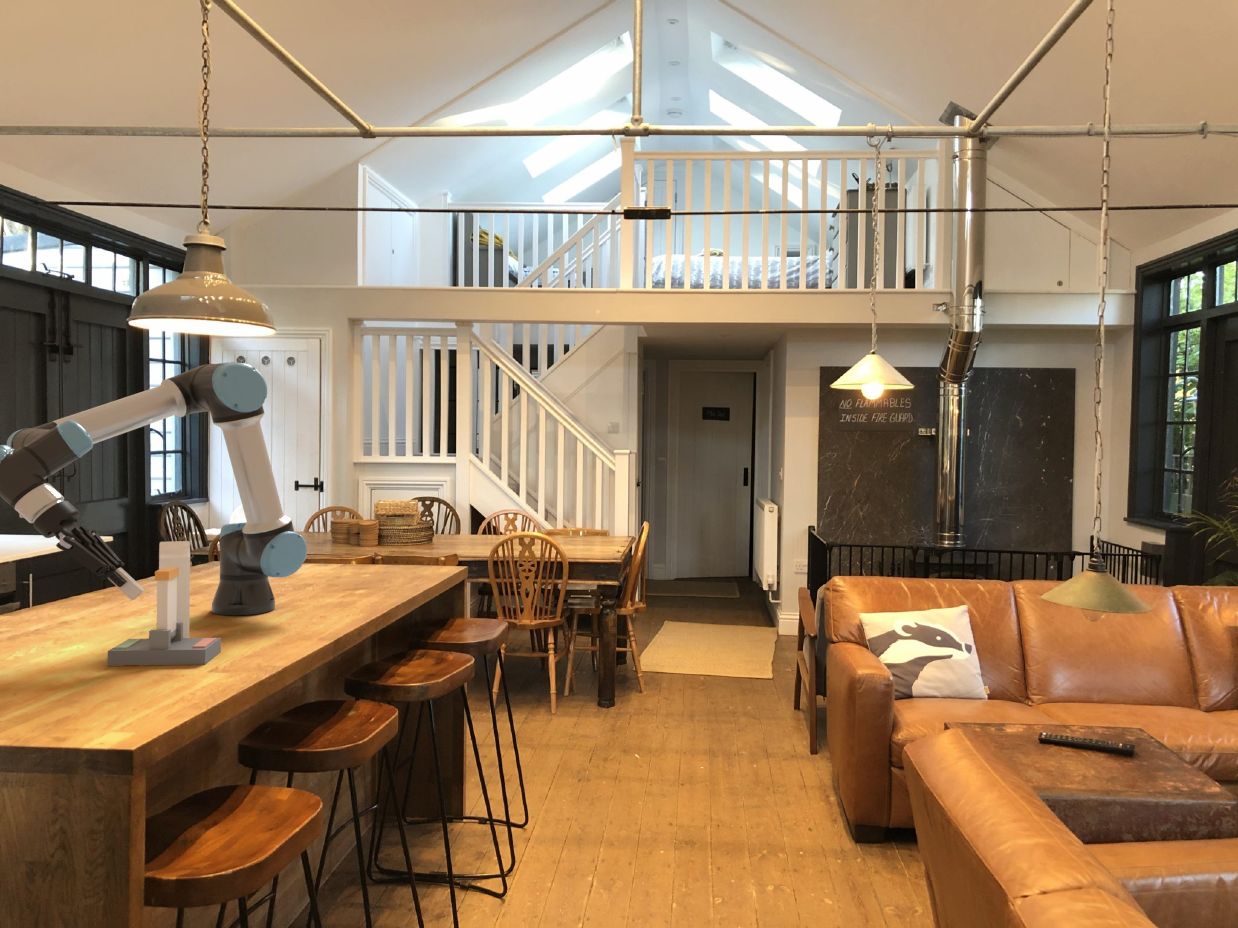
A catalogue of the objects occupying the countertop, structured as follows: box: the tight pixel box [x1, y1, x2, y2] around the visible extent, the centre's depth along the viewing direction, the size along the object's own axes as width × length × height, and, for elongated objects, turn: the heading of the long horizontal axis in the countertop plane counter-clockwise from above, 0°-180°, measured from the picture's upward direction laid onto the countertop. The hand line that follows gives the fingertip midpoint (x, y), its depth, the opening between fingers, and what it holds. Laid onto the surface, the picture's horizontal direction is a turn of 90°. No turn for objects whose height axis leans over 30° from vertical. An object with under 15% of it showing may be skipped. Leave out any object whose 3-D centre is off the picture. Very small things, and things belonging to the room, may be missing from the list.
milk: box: [158, 540, 191, 638], centre depth 185 cm, size 6×6×22 cm
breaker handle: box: [154, 567, 179, 639], centre depth 170 cm, size 3×6×15 cm, turn 9°
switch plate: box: [107, 622, 222, 667], centre depth 170 cm, size 18×10×7 cm, turn 99°
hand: (138, 595), depth 169 cm, fingers closed
